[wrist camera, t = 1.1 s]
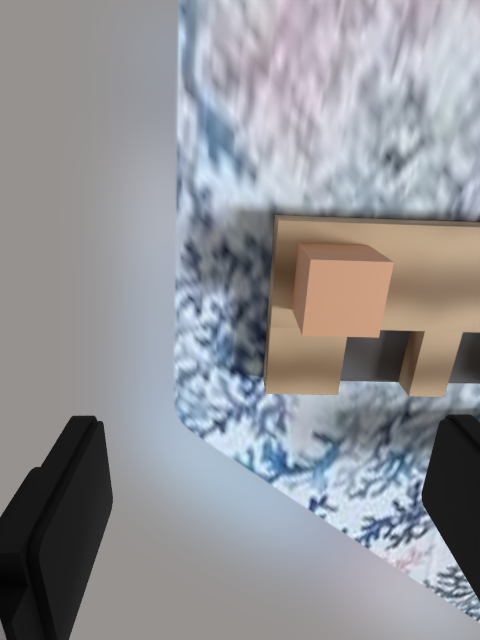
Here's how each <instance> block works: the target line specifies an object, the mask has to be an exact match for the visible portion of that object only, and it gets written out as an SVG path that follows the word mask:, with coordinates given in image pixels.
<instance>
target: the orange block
mask: <svg viewBox="0 0 480 640" xmlns="http://www.w3.org/2000/svg"><path fill="white" fill-rule="evenodd" d="M393 265H394V262H393V261H392V260H390V259H389V258H387V257H386V256H384V255H383V254H381V253H380V252H378V251H377V250H375V249H374V248H372V247H371V246H369V245H341V244H310V243H298V253H297V263H296V273H295V284H294V294H293V304H292V311H293V314H294V316H295V319H296V321H297V324H298V326H299V329H300V332H301V334H302V336H334V337H375V338H379V335H380V330H381V325H382V320H383V315H384V310H385V305H386V300H387V295H388V290H389V285H390V280H391V275H392V270H393Z"/></svg>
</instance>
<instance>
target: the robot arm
mask: <svg viewBox="0 0 480 640" xmlns="http://www.w3.org/2000/svg"><path fill="white" fill-rule="evenodd" d="M422 502H423V505H424V507H425V509H426V511H427V512H428V514H429V516H430V517H431V519H432V521H433V523H434V524H435V526H436V528H437V529H438V531H439V533H440V534H441V536H442V538H443V540H444V541H445V543H446V545H447V546H448V548H449V550H450V551H451V553H452V555H453V557H454V558H455V560H456V562H457V563H458V565H459V567H460V568H461V570H462V572H463V574H464V575H465V577H466V579H467V580H468V582H469V584H470V585H471V587H472V589H473V591H474V592H475V594H476V596H477V597H478V599H479V601H480V423H479V422H478V421H477V420H476V419H475V418H474V417H473V416H472V415H468V414H464V415H447V416H446V417H445V420H441V421H440V423H439V426H438V430H437V434H436V438H435V442H434V446H433V450H432V454H431V458H430V462H429V466H428V470H427V474H426V478H425V482H424V486H423V490H422ZM112 503H113V495H112V487H111V480H110V471H109V463H108V456H107V448H106V441H105V433H104V425H103V422H102V421H97V419H96V417H95V416H72V417H71V418H70V420H69V422H68V423H67V425H66V426H65V428H64V430H63V431H62V433H61V434H60V436H59V438H58V439H57V441H56V443H55V444H54V446H53V448H52V449H51V451H50V453H49V454H48V456H47V457H46V459H45V461H44V462H43V464H42V465H41V467H35V468H33V469H32V470H31V471H30V472H29V473H28V475H27V476H26V478H25V479H24V481H23V483H22V484H21V486H20V487H19V489H18V491H17V492H16V494H15V495H14V497H13V498H12V500H11V501H10V503H9V505H8V506H7V508H6V509H5V511H4V512H3V514H2V516H1V517H0V640H69V637H70V634H71V631H72V628H73V625H74V622H75V619H76V616H77V613H78V610H79V607H80V604H81V601H82V598H83V595H84V592H85V589H86V586H87V583H88V579H89V577H90V574H91V571H92V568H93V564H94V561H95V558H96V555H97V552H98V549H99V546H100V543H101V540H102V537H103V534H104V531H105V528H106V525H107V522H108V519H109V516H110V513H111V509H112Z"/></svg>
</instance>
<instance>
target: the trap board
mask: <svg viewBox="0 0 480 640" xmlns="http://www.w3.org/2000/svg"><path fill="white" fill-rule="evenodd" d="M298 243H310V244H341V245H369V246H371V247H372V248H374V249H375V250H377V251H378V252H380V253H381V254H383V255H384V256H386V257H387V258H389V259H390V260H392V261H393V262H394V265H393V270H392V275H391V280H390V285H389V290H388V295H387V300H386V305H385V310H384V315H383V320H382V325H381V330H380V335H379V338H375V337H334V336H302V334H301V332H300V329H299V326H298V324H297V321H296V319H295V316H294V314H293V311H292V304H293V294H294V284H295V273H296V263H297V253H298ZM263 379H264V386H265V393H266V394H317V395H338V390H339V384H340V381H379V382H399V384H400V385H401V386H402V388H403V389H404V390H405V392H406V393H407V394H408V396H424V397H444V395H445V392H446V388H447V385H448V383H479V384H480V222H460V221H431V220H403V219H375V218H346V217H318V216H290V215H275V220H274V234H273V248H272V262H271V276H270V290H269V304H268V318H267V332H266V346H265V360H264V374H263Z"/></svg>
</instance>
